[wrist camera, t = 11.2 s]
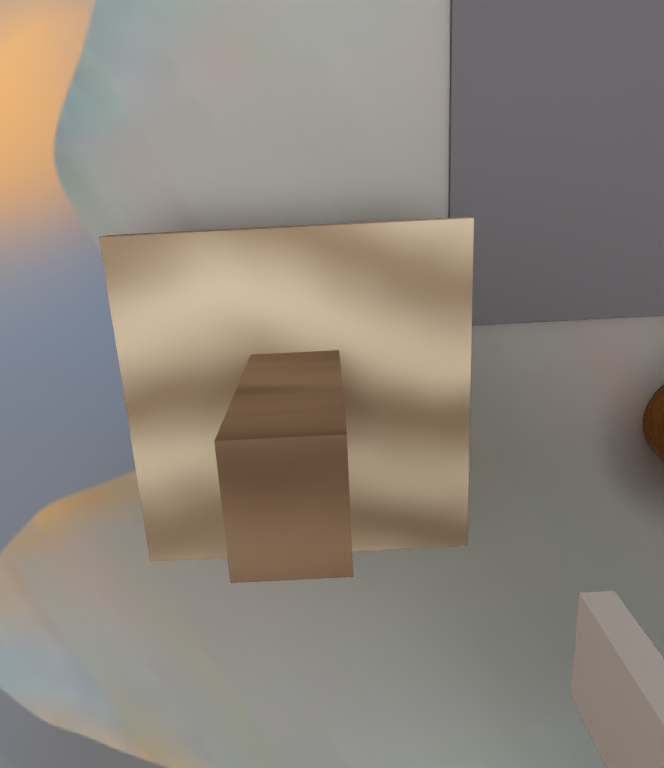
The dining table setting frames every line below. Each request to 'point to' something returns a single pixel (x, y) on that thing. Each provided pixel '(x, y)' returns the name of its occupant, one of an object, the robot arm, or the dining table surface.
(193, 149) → the dining table surface
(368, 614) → the dining table surface
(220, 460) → the oak lid
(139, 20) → the dining table surface
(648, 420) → the disposable coffee cup
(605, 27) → the rubber mat
